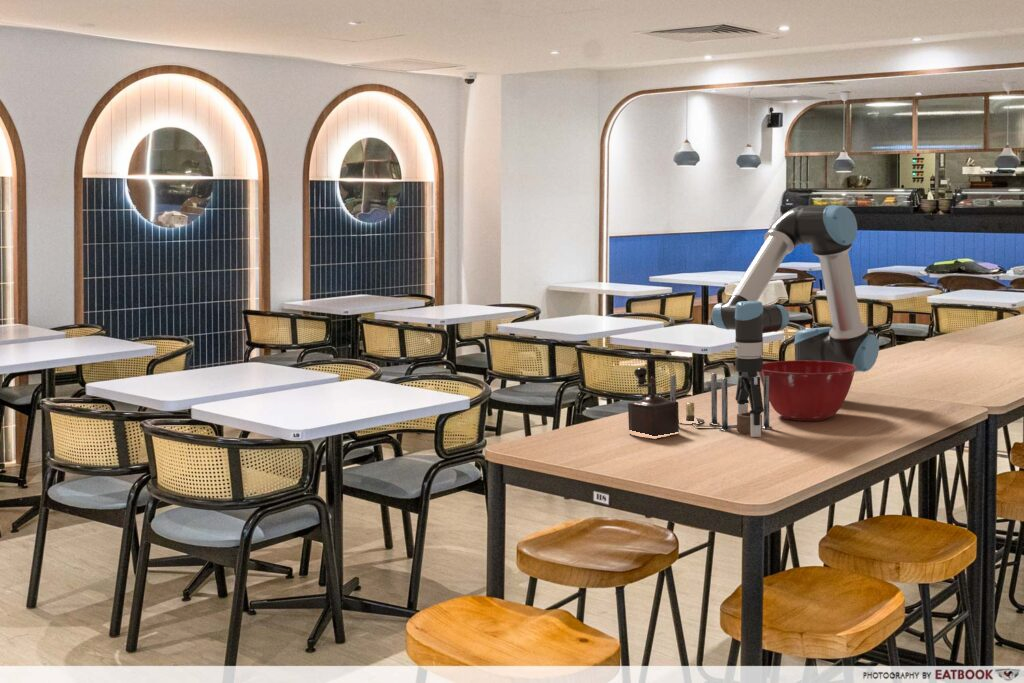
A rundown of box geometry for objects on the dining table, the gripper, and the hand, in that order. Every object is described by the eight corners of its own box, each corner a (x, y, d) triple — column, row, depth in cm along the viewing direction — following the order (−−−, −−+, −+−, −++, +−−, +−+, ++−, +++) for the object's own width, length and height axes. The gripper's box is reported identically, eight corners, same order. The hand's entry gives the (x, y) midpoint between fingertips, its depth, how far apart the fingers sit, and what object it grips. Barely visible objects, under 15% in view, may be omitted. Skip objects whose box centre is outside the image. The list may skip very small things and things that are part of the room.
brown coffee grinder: (681, 434, 323) (680, 370, 320) (654, 440, 316) (653, 375, 313) (642, 426, 335) (640, 365, 332) (614, 432, 328) (613, 370, 325)
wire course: (667, 425, 335) (666, 374, 333) (762, 421, 336) (761, 370, 334) (675, 433, 323) (674, 381, 322) (773, 429, 325) (773, 376, 323)
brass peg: (674, 420, 342) (674, 401, 342) (700, 419, 343) (700, 400, 342) (679, 425, 334) (679, 406, 334) (706, 424, 335) (706, 404, 334)
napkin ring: (735, 430, 325) (735, 413, 324) (757, 429, 325) (757, 412, 325) (741, 434, 319) (741, 417, 318) (763, 433, 319) (763, 416, 318)
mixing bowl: (769, 406, 360) (769, 357, 358) (863, 411, 347) (863, 360, 345) (746, 423, 335) (746, 370, 333) (846, 429, 322) (847, 374, 320)
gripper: (724, 351, 332) (725, 423, 334) (747, 363, 307) (747, 441, 309) (750, 350, 332) (750, 422, 334) (775, 362, 307) (775, 440, 310)
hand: (749, 431), depth 322 cm, fingers open, 13 cm apart
